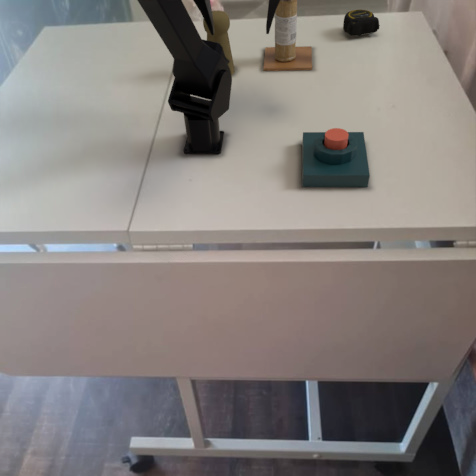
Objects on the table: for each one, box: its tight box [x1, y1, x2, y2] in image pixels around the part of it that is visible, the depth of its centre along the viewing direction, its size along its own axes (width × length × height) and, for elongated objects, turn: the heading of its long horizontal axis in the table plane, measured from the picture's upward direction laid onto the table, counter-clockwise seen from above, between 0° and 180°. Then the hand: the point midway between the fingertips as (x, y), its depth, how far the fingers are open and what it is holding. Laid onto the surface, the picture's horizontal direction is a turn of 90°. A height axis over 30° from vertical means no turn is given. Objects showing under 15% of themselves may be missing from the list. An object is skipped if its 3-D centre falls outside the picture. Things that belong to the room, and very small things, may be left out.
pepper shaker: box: [202, 10, 236, 76], centre depth 96 cm, size 6×6×11 cm
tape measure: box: [342, 9, 381, 37], centre depth 107 cm, size 7×7×4 cm
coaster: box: [262, 46, 313, 72], centre depth 102 cm, size 10×10×1 cm
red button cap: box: [324, 127, 349, 150], centre depth 74 cm, size 4×4×2 cm
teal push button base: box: [301, 131, 371, 188], centre depth 76 cm, size 12×10×4 cm
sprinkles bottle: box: [274, 0, 298, 62], centre depth 96 cm, size 5×5×14 cm
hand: (240, 33), depth 80 cm, fingers open, 9 cm apart
